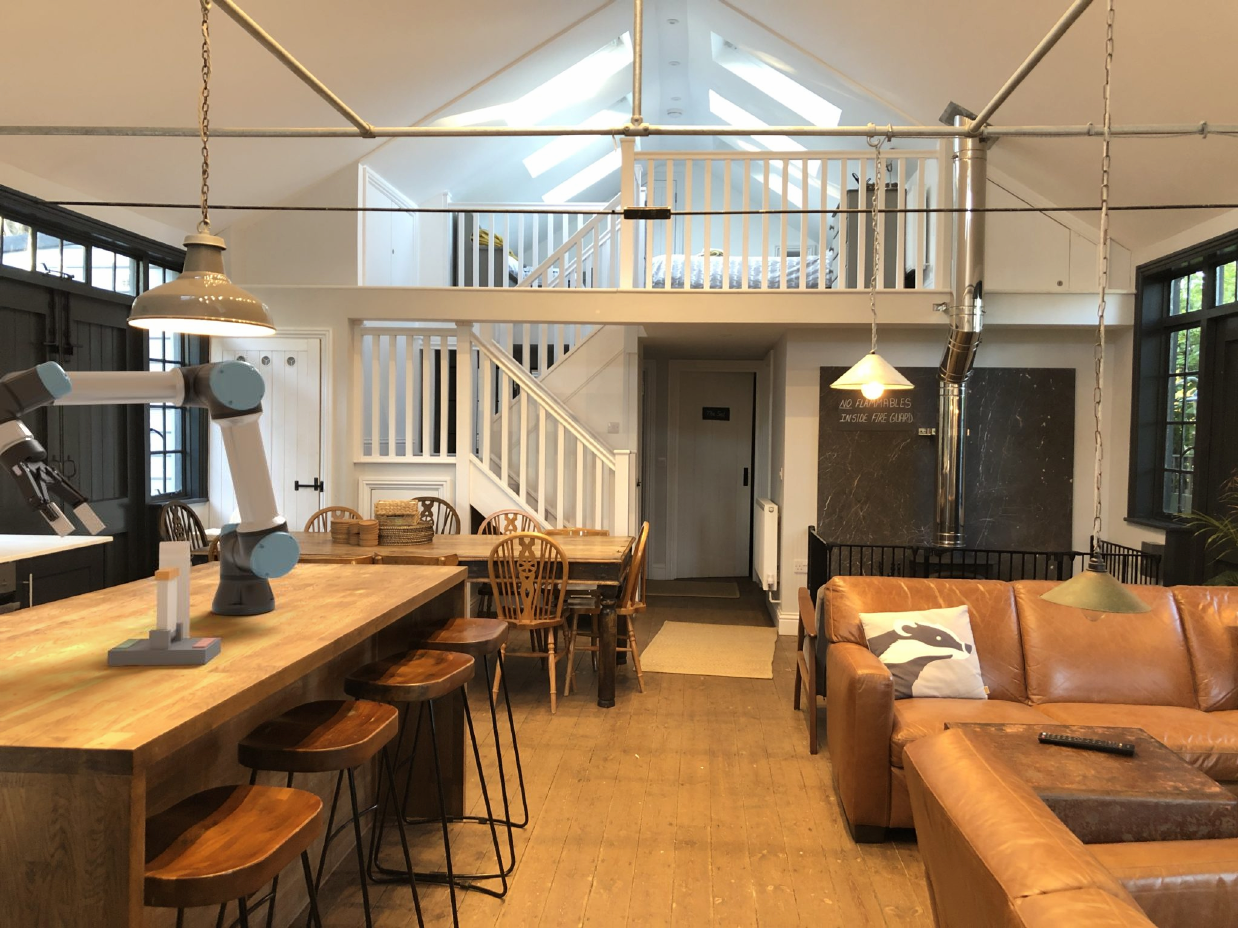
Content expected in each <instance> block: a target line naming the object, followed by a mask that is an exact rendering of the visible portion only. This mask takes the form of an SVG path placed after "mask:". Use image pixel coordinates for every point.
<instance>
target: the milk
mask: <svg viewBox="0 0 1238 928" xmlns="http://www.w3.org/2000/svg"><path fill="white" fill-rule="evenodd" d="M158 551H159V552H158V553H159V554H158V559H159V561H158V563H159V564H158V565H159V566H158V570H160V569H162V568H165V567H179V576H178V577H177V610H176V622H183V638H190V617H191V616H190V615H191V614H190V613H191V611H190V610H191V607H190V606H191V604H190V603H191V601H190V600H191V590H190V589H191V542H190V541H189V540H185V541H184V540H183V541H182V540H180V541H176V540H174V541H160V542H159V550H158Z"/></svg>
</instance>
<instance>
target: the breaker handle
mask: <svg viewBox="0 0 1238 928" xmlns="http://www.w3.org/2000/svg"><path fill="white" fill-rule="evenodd" d="M178 576H179V567H165V568H162V569H160V570H159V569H157V570H155V571H154V581H156V630H171V639H172V638H174V637H175V636H176V635H177V630H176V610H177V577H178Z"/></svg>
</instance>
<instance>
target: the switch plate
mask: <svg viewBox="0 0 1238 928" xmlns="http://www.w3.org/2000/svg"><path fill="white" fill-rule="evenodd" d="M176 630H177V635H176V636H175V637H174V638H172V639H171V630H157V629H151V630H149V631H148V638H128V639H126V640H125V641H123V642H121V643H119V644H117V645H115V646H114V647H112V648H111V649H108V650H107V667H124V665H125V667H126V665H129V666H130V665H140V666H178V665H179V666H185V665H186V666H187V665H188V666H191V665H206V664H208V663H209V662H210V661H212V659H214V658H215V657H216V656H218V655H219V654H220V653H221V652H222V638H221V637H189V638H183V622H176ZM129 666H128V667H129Z"/></svg>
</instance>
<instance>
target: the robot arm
mask: <svg viewBox="0 0 1238 928" xmlns="http://www.w3.org/2000/svg"><path fill="white" fill-rule="evenodd" d="M265 393H266V384H265V379H264V377H263V376H262V374H261V372H260V371H259V369H257V368H256V367H255V366H253V365H252V364H250V363H248V362H247V361H246V362H245V361H244V360H243V361H241V360H237V359H227V360H223V361H215V362H209V363H204V364H197V365H192V366H175V367H172V368H171V369H170V370H169V371H168V370H167V371H166V370H165V371H163V370H161V371H159V370H158V371H155V370H153V371H148V370H146V371H143V370H142V371H140V370H139V371H134V370H133V371H131V370H130V371H125V370H123V371H64V369H63V368H62V367H61V366H60V365H59V364H58V363H57V362H55V361H47V362H45V363H42V364H37V365H36V366H34V367H31V368H29V369H25V370H21V371H11V372H8V373H7V374H5V375H4V376H3V377H2V378H0V465H1V466H2V467H3V468H4V470H5V471H6V472H7V473H8V474H10V475H11V476H12V477H13V479H14V480H15V482H16V484H17V486H18V488H19V491H20V492H21V494H22V496H23V498H24V500H25V503H26V505H27V506H28V507H29V508H30V510H31V511H32V512H33V513H34V514H35V513H37V512H38V511H39V512H40V513H41V515H42V516H43V518H45V520H46V521H47V522H48V523H49V524H50V526H51V527H52V528H53V530H54V531H55V532H56V534H58V536H59V537H60V538H61V539H62V538H65V537H66V536H67V535H69V534H70V533H71V532H73V531H75V530H76V528H75V527H74V525H73V524H72V523H71V522H70V520H69V519H68V518H67V517H66V516H65V514H64V513H63V512H62V510H61V509H60V508H59V507H58V506H57V505H56V503H55V502H51V500H50V497H49V493H48V492H51V493H52V494H54V495H55V496H56V497H58V498H59V499H61V501H63V502H64V503H66V504H67V505H68V506H69V507H71V508H72V509H73V510H72V511H73V513H74V514H75V516H76V517H78V519H79V520H80V522H82V524H83V525H84V526H85V527H86V529H87V530H88V531H89V532H90V534H91V535H92V536H95V535H97V534H98V533H99V532H101V531H102V530H104V529H105V528H106V526H105V524H104V523H103V522H102V520H101V519H99V517H98V516H97V515H96V513H95V512H94V511H93V510H92V508H91V507H90V506H89V505H88V503H89V502H90V498H89V497H88V496H86V495H85V494H83V493H82V492H81V490H79V489H78V488H77V487H76V486H75V485H74V484H72V482H71V481H69V480H68V479H67V478H66V477H65V476H64V475H63V474H62V473H61V472H60V471H59V470H58V468H56V466H54V465H51V466H47V465H46V464H45V463H44V462H43V461H44V460H45V459H46V457H47V456H48V455H47V453H48V452H47V451H46V449H45V448H44V447H43V446H42V444H40V442H39V441H38V440H36V439H34V438H35V437H34V436H35V435H33V433H32V432H31V430H29V428H27V426H26V425H25V424H24V422H23V421H22V420H21V419H20V418H19V417H20V416H22V415H25V414H27V413H28V412H31V411H33V410H35V409H38V408H40V407H47V406H76V405H77V406H78V405H80V406H81V405H82V406H83V405H85V406H86V405H118V404H121V405H122V404H123V405H125V404H126V405H127V404H157V403H158V404H159V403H160V404H163V403H164V404H165V403H168V404H169V403H171V404H173V405H174V406H175V407H194V408H203V409H208V410H209V414H210V418H211V422H213V423H214V424H216V425H217V426H219V427H220V431H221V435H222V440H223V445H224V450H225V453H226V458H227V464H228V468H229V472H230V477H231V481H232V486H233V489H234V495H235V499H236V502H237V508H238V512H239V516H240V522H233V523H225V524H222V526H221V528H220V533H219V583H218V586H217V588H216V591H215V594H214V596H213V599H212V601H211V613H213V614H216V615H221V616H247V615H248V616H249V615H257V614H262V613H267V612H268V613H269V612H272V611H274V610H275V609H276V599H275V596H274V593H273V589H272V586H271V584H270V582H269V580H270V579H279V578H283V577H284V576H286V575H288V574H289V573H290V572H291V571H292V570H293V569H294V568H295V566H296V565H297V563H298V561H299V558H300V553H301V549H300V545H299V542H298V541H297V539H296V537H294V536H293V535H292V534H291V533H290V532H289V528H288V522H287V519H286V517H283V515H281V514H279V511H278V508H277V502H276V498H275V494H274V488H273V483H272V480H271V474H270V470H269V466H268V461H267V456H266V451H265V445H264V442H263V436H262V434H261V433H262V432H261V428H260V423H259V419H260V418H261V416H262V415H263V414H264V409H263V405H262V400H263V399H264V398H263V397H264V396H265Z"/></svg>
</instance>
